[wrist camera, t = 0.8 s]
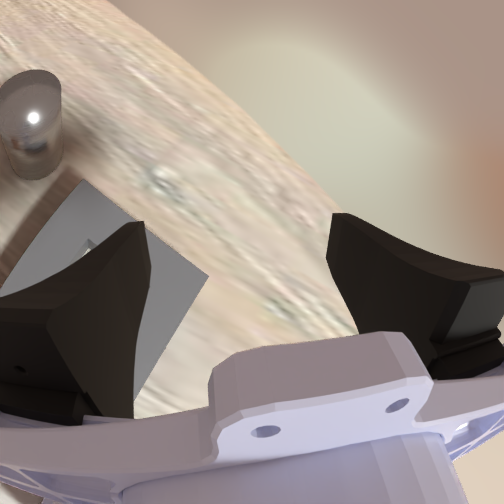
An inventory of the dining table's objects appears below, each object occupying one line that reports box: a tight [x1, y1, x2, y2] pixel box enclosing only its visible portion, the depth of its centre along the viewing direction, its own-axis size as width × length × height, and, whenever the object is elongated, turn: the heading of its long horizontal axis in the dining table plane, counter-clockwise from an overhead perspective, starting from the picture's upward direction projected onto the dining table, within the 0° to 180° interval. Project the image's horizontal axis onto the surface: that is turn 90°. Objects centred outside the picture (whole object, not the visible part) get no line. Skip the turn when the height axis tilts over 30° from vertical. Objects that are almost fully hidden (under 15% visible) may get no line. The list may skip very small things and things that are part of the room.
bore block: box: [0, 178, 209, 400], centre depth 21 cm, size 12×12×3 cm
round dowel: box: [0, 70, 63, 180], centre depth 18 cm, size 5×5×8 cm
